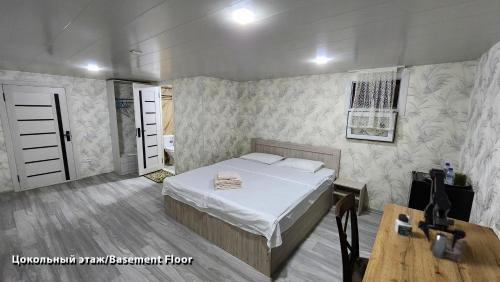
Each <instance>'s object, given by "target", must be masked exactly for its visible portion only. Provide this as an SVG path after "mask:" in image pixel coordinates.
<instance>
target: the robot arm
mask: <svg viewBox="0 0 500 282" xmlns="http://www.w3.org/2000/svg"><path fill="white" fill-rule="evenodd" d="M447 174H448V172H447V171H445V169H443V168H442V169H441V168H434V167H433V168H432V167H431V168H430V169H428V177H429V179H430V181H431V188H430V197H429V198H430V199H429V204H428V205H427V206H426V207H425V209H424V211H423V218H424V220H419V221H418V223H417V229H420V231H422V232H423V233H424V235H425V238H426V239H427V242H428V243H430V242H431V238H430V230H433V231H439V232H441V233H445V234H446V233H447V234H451V236H452V243H451V247H452V249H453V248H454V246H455V243H456V241H457V240H460V239H461V240H463V239H465V238H466V237H467V234H466V232H465V230H462V229H458V228H454V229H453V230H452V229H449V228H450V226H452V227H454V226H455V219H451V218H449V219H448V215H447V214H448V213H449V211H450V210H451V208H452V203H451V202H450V200H449V197H448V195H447V193H446V192H445V179H447V177H448V175H447Z"/></svg>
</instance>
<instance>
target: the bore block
mask: <svg viewBox="0 0 500 282" xmlns="http://www.w3.org/2000/svg"><path fill="white" fill-rule="evenodd" d="M439 233H441V234H444V235H446V236H447V241H446V247H445V253H444V258H447V259H450V260H451V261H454V262H457V263H459V264H460V263H461V261H462V260H463V259H462V258H463V257H464V254H465V251H466V249H467V248H468V242H469V241H466V240H463V239H460V240H457V241H456V243H455V246H454V248H453V249H452V247H451V243H452V236H453V235H449V234H448V233H447V234H446V233H445V232H442V231H439ZM434 243H435V239H434V240H433V242H432V243H431V244H430V247H429V251H431V252H433V249H434Z"/></svg>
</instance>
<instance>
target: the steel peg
mask: <svg viewBox="0 0 500 282" xmlns="http://www.w3.org/2000/svg"><path fill="white" fill-rule="evenodd" d="M441 233H442V232H441ZM441 233H440V232H437V233H435V237H434V240H435V243H434V249H433V251H432V255H433V257H435V258H437V259H439V260H440V259H441V260H443V259H444V258H445V256H444V253H445V250H446V249H445V247H446V241H447V236H446V235H444V234H445V233H444V234H441Z"/></svg>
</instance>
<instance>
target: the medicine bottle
mask: <svg viewBox="0 0 500 282" xmlns="http://www.w3.org/2000/svg"><path fill="white" fill-rule="evenodd" d="M397 217H398V218H395V222H394V230H395V233H396V234H397V235H398V236H403V237H407V238H411V237H412V231H413V226H412V224H411V220H412V219H411V216H409V214H406V213H399V214H398V216H397Z"/></svg>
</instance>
